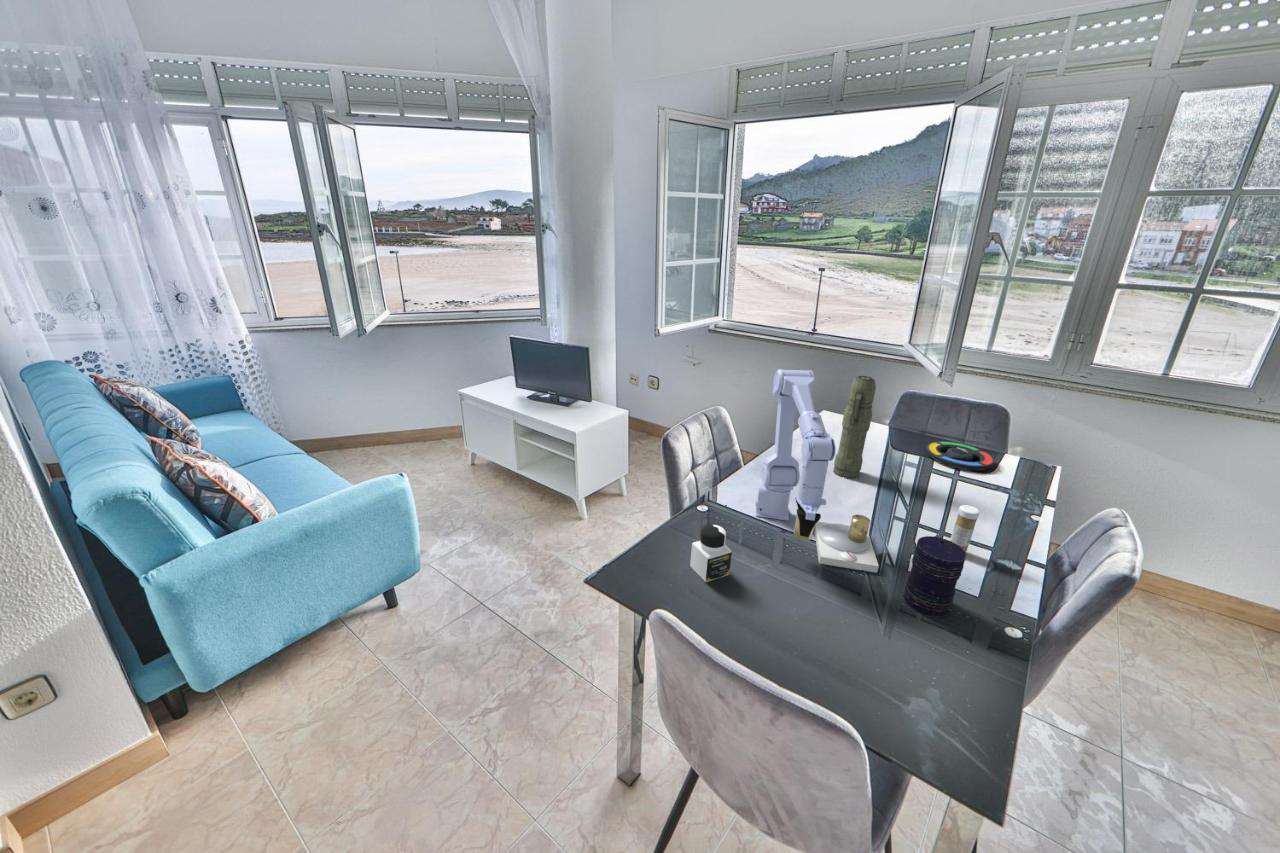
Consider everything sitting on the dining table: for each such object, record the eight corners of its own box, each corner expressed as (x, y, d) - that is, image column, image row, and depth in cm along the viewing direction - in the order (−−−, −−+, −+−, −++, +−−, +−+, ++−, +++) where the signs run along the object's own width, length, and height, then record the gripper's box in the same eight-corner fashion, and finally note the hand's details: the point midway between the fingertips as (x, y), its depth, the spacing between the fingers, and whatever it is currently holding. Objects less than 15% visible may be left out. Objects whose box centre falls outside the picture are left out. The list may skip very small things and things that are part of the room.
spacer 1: (794, 538, 132) (797, 518, 130) (793, 529, 136) (796, 509, 134) (812, 541, 131) (816, 520, 129) (811, 532, 135) (815, 511, 133)
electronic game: (911, 451, 207) (913, 440, 205) (955, 446, 214) (958, 435, 212) (959, 476, 187) (963, 464, 185) (1007, 470, 193) (1011, 458, 192)
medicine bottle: (705, 583, 125) (709, 540, 120) (689, 566, 131) (693, 525, 126) (729, 575, 128) (734, 533, 124) (713, 559, 134) (717, 518, 130)
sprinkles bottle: (954, 545, 144) (967, 503, 139) (970, 554, 140) (983, 511, 135) (943, 549, 142) (955, 506, 137) (959, 558, 138) (972, 514, 133)
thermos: (861, 469, 188) (881, 375, 175) (857, 482, 178) (878, 384, 166) (835, 464, 192) (853, 371, 179) (830, 476, 182) (848, 379, 169)
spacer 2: (849, 542, 139) (854, 522, 137) (846, 532, 143) (850, 513, 141) (867, 544, 138) (872, 524, 136) (863, 534, 142) (867, 515, 140)
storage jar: (948, 624, 115) (966, 567, 109) (899, 606, 120) (914, 551, 114) (950, 599, 123) (967, 545, 117) (905, 583, 128) (919, 531, 122)
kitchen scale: (819, 563, 134) (820, 554, 133) (813, 527, 150) (815, 518, 149) (877, 572, 131) (879, 563, 130) (865, 534, 148) (867, 526, 147)
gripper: (832, 499, 121) (822, 548, 125) (826, 472, 134) (817, 518, 139) (800, 494, 122) (792, 544, 127) (797, 468, 135) (790, 514, 140)
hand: (803, 530), depth 133 cm, fingers closed on spacer 1, 4 cm apart
